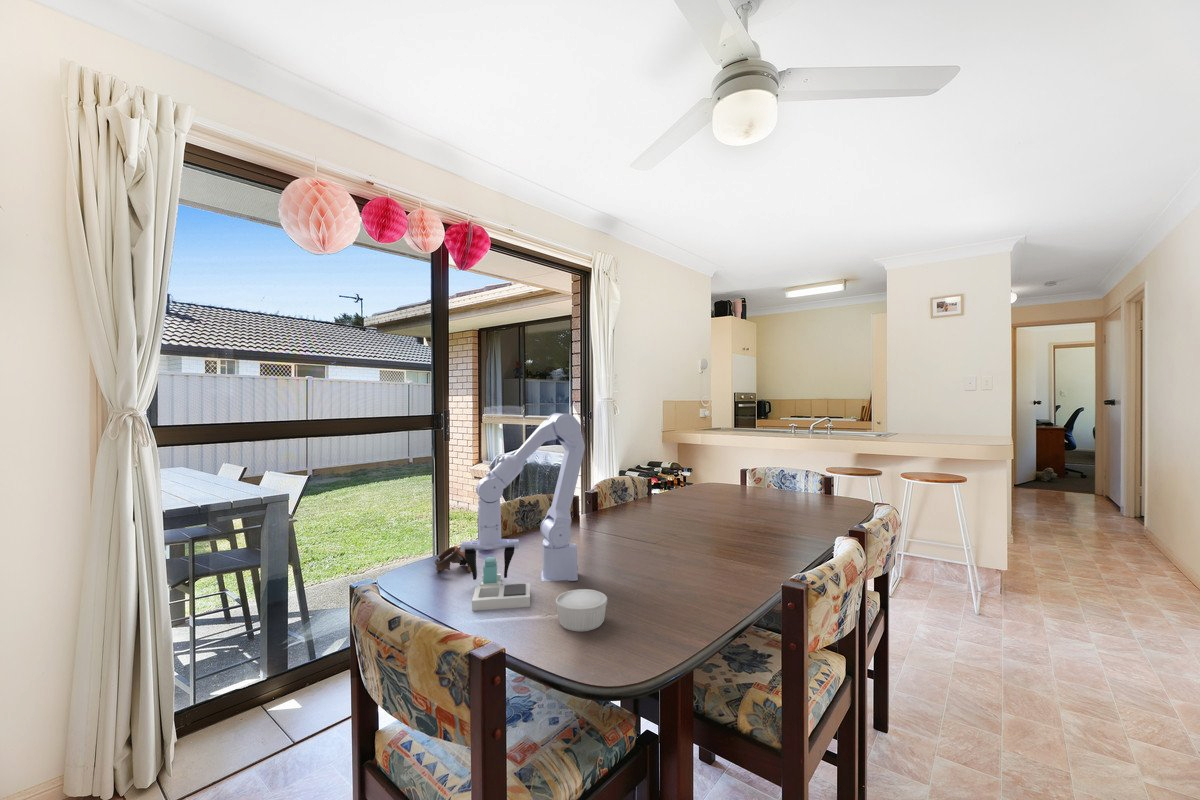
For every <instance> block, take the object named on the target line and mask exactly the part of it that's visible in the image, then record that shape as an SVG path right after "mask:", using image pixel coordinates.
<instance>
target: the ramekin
mask: <svg viewBox="0 0 1200 800" xmlns="http://www.w3.org/2000/svg"><path fill="white" fill-rule="evenodd" d="M554 604H555V606H556V610H557V615H558V616H557V617H558V620H559V624H560V625H561V626H562V627H563V628H564V629H566V630H569V631H572V632H581V633H582V632H589V631H593V630H596V629H598V628H600V626H601V625H602V624H603V622H604V620H605V618H606V617H605V616H606V609H607V605H608V596H607V595H606V594H605V593H603V592H601V591H599V590H595V589H585V588H580V589H579V588H578V589H572V590H568V591H565V592H562V593H560V594H559V595H558V596H557V597H555V603H554Z"/></svg>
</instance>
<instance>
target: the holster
mask: <svg viewBox="0 0 1200 800" xmlns="http://www.w3.org/2000/svg"><path fill="white" fill-rule="evenodd" d="M497 576H498V582H497V583H486V584H483V574H481V583H479V586H492V585H502V573H497Z"/></svg>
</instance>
